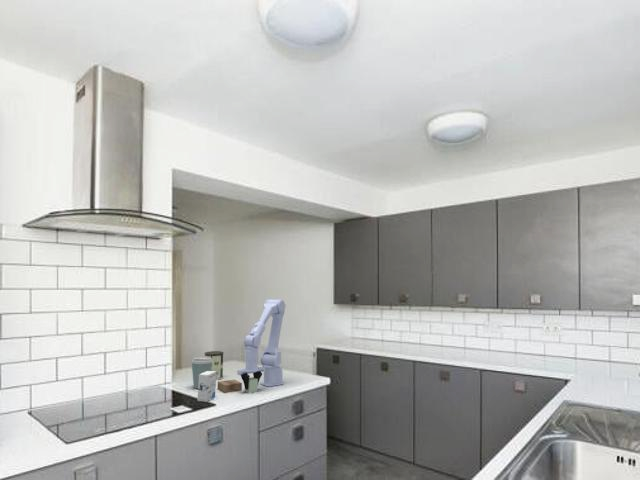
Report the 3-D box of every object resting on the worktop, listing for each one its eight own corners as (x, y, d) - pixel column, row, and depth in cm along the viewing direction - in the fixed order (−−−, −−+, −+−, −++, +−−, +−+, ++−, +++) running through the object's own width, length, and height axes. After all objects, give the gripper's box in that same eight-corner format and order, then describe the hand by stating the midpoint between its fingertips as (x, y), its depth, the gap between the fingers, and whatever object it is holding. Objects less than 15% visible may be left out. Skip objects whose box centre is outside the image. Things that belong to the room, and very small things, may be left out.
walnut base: (234, 387, 217) (234, 379, 217) (241, 391, 209) (241, 382, 210) (217, 389, 212) (217, 381, 212) (224, 393, 204) (224, 385, 205)
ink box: (206, 396, 198) (206, 370, 200) (216, 397, 197) (216, 371, 199) (197, 401, 190) (198, 374, 191) (207, 401, 189) (208, 374, 190)
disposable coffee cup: (196, 384, 221) (197, 355, 223) (215, 385, 219) (216, 355, 221) (186, 389, 211) (187, 358, 213) (206, 390, 209) (207, 359, 210)
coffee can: (213, 375, 243) (214, 350, 245) (226, 377, 238) (227, 352, 239) (199, 379, 235) (200, 352, 236) (212, 381, 229) (213, 354, 231)
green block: (252, 389, 211) (253, 377, 212) (257, 391, 208) (257, 378, 208) (244, 391, 208) (245, 378, 209) (249, 392, 205) (249, 380, 206)
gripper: (242, 362, 202) (241, 392, 201) (268, 359, 211) (268, 387, 210) (235, 360, 207) (234, 389, 206) (261, 357, 217) (260, 384, 215)
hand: (251, 388), depth 208 cm, fingers closed on green block, 4 cm apart
